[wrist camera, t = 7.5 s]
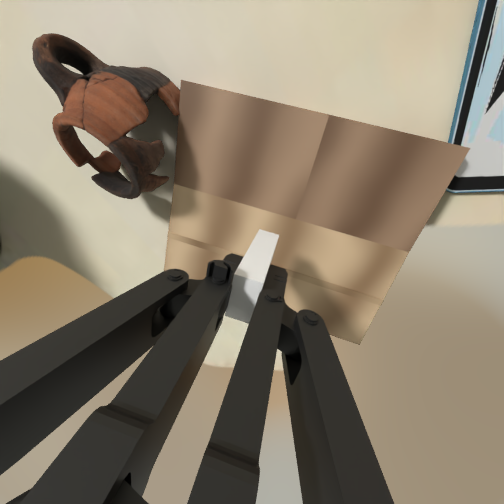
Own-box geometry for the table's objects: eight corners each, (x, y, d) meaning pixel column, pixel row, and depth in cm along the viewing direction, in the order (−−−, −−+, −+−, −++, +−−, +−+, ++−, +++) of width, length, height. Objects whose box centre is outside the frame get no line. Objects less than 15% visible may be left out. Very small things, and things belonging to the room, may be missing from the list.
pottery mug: (220, 126, 21) (164, 183, 17) (177, 171, 28) (129, 219, 24) (94, -25, 16) (-29, 1, 12) (80, 75, 23) (-1, 114, 19)
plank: (171, 271, 27) (162, 277, 26) (182, 182, 24) (173, 183, 22) (356, 334, 25) (359, 345, 23) (401, 246, 21) (409, 252, 20)
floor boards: (182, 181, 24) (173, 183, 22) (190, 84, 20) (181, 79, 19) (402, 244, 21) (408, 252, 20) (458, 147, 17) (470, 148, 16)
